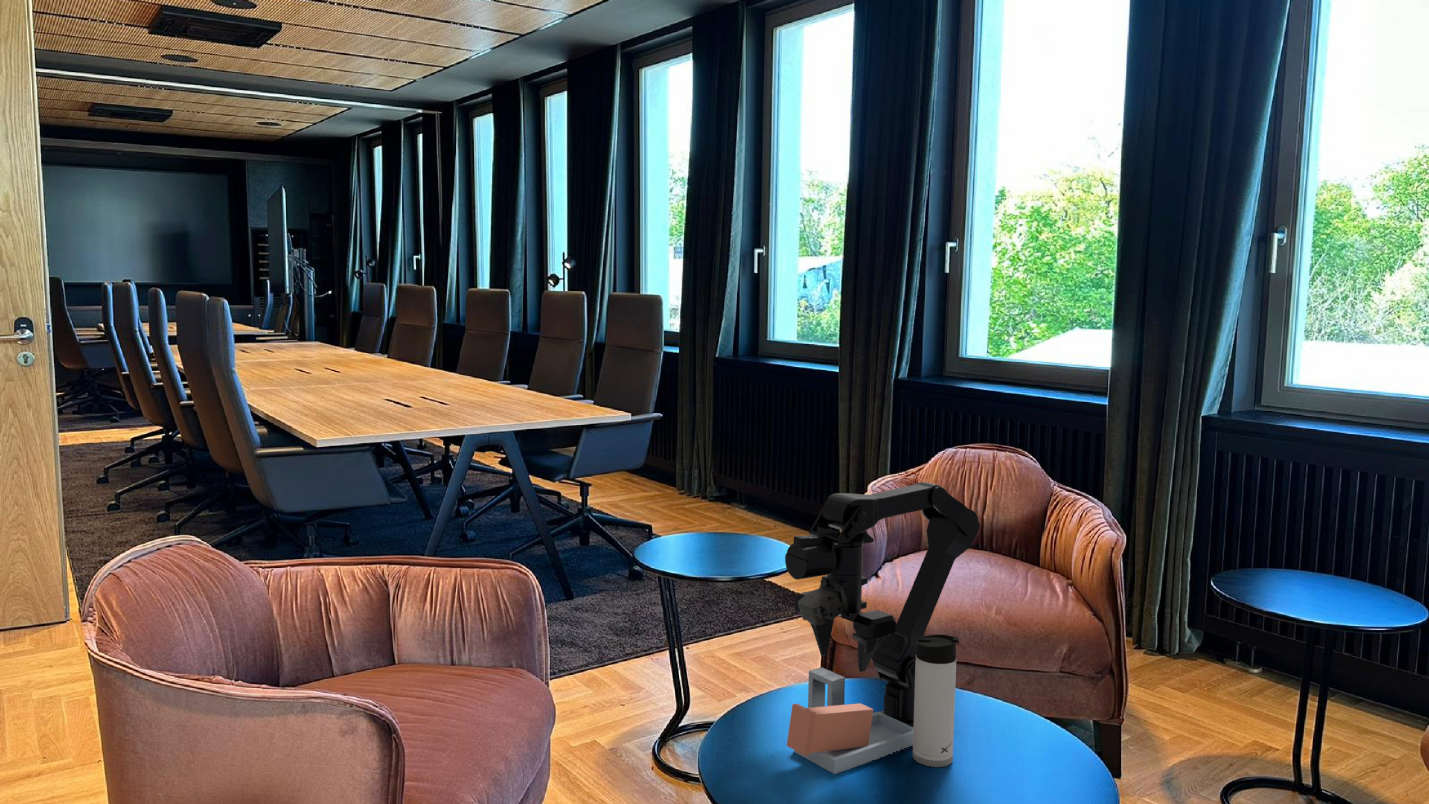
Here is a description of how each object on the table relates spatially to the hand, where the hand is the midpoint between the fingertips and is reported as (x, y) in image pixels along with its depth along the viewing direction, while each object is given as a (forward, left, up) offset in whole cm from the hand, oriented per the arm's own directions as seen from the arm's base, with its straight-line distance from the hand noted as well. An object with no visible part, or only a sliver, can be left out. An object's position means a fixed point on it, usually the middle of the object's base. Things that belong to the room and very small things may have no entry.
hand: (842, 663), depth 169 cm
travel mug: (-6, +15, -13) cm, 21 cm away
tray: (+1, +5, -12) cm, 14 cm away
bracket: (-3, -7, -12) cm, 15 cm away
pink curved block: (+7, +5, -11) cm, 14 cm away
